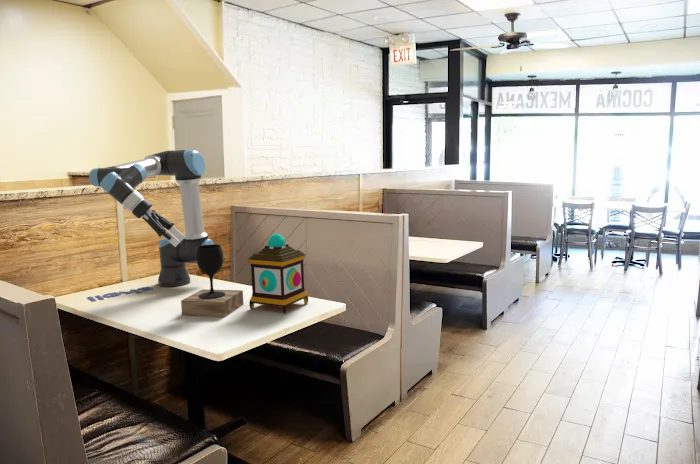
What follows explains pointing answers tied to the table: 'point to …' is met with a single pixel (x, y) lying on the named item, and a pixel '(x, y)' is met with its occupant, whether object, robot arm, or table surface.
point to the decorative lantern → (277, 275)
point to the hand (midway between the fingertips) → (180, 241)
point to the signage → (119, 293)
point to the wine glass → (210, 266)
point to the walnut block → (212, 304)
